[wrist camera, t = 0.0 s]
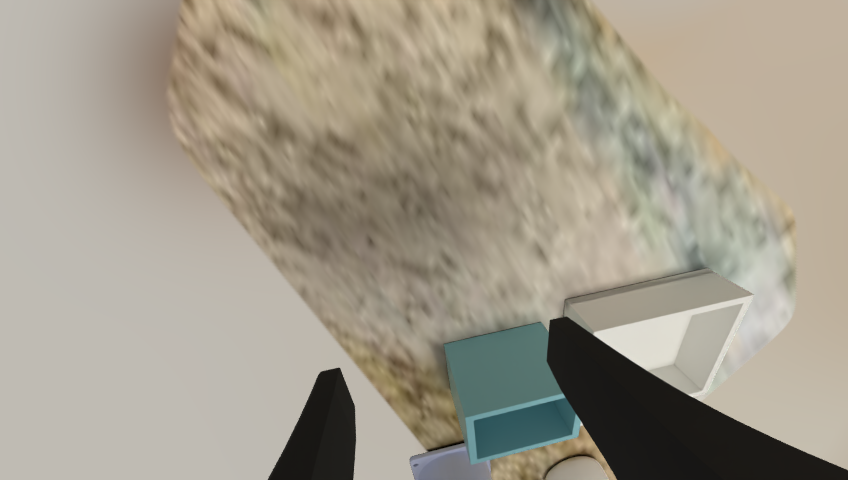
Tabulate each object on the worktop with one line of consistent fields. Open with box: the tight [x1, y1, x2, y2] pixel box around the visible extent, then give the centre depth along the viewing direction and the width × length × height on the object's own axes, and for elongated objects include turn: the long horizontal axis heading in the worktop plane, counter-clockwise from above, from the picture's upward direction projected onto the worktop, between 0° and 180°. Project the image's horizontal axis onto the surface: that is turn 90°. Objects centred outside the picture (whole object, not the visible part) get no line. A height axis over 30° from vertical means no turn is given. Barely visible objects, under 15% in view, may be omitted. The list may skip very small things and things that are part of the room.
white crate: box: [564, 268, 754, 426], centre depth 26 cm, size 11×12×4 cm
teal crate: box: [444, 322, 581, 465], centre depth 24 cm, size 6×8×6 cm
